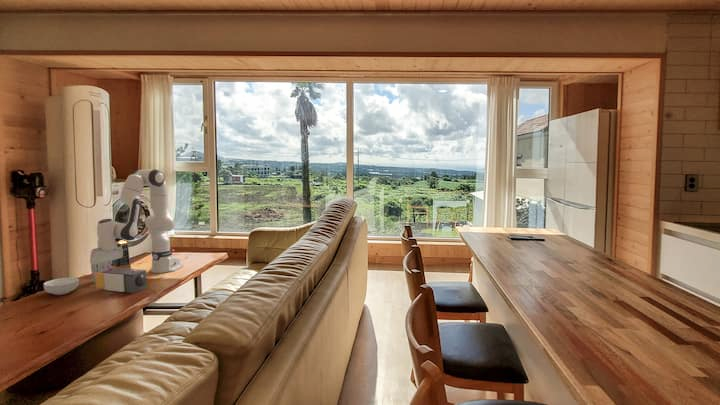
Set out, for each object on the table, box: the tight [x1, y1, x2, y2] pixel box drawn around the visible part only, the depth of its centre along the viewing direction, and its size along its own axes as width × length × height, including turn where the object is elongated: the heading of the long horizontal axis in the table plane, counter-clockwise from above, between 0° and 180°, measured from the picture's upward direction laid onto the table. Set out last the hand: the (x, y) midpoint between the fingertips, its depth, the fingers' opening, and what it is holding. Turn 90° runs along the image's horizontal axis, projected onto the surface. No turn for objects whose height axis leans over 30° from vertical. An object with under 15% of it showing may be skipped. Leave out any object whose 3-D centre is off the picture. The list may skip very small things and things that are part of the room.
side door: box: [95, 272, 126, 293], centre depth 242 cm, size 20×2×10 cm, turn 74°
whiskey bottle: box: [111, 238, 132, 270], centre depth 284 cm, size 10×10×32 cm
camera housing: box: [105, 268, 148, 294], centre depth 246 cm, size 10×22×12 cm, turn 74°
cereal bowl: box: [43, 277, 80, 296], centre depth 239 cm, size 17×17×7 cm
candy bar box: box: [90, 262, 112, 284], centre depth 262 cm, size 11×5×16 cm, turn 168°
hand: (107, 268), depth 248 cm, fingers closed
